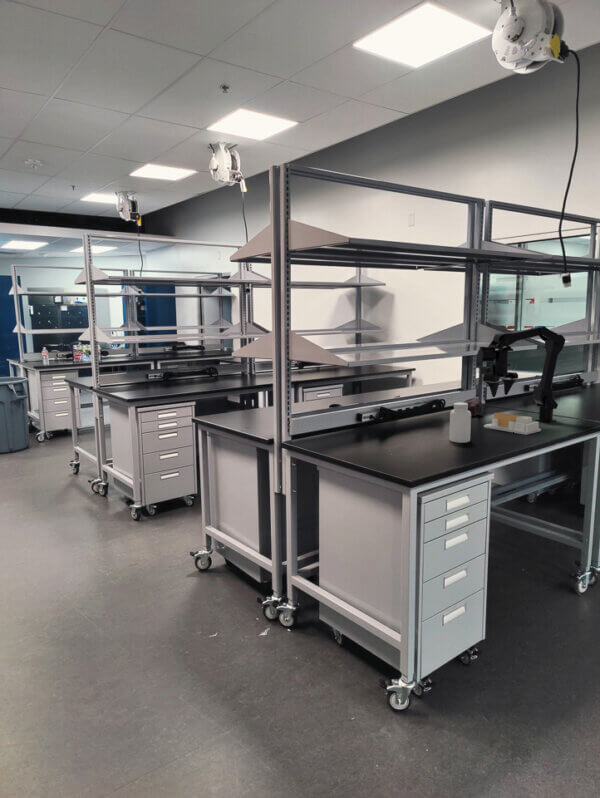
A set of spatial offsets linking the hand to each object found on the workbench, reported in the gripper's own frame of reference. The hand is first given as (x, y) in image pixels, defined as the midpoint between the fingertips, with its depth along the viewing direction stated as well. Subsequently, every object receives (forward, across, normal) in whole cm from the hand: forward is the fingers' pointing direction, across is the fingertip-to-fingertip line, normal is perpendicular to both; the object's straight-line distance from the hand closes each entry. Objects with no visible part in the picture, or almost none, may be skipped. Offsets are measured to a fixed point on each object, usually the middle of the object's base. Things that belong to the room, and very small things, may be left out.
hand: (499, 395), depth 242 cm
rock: (+13, -6, -19) cm, 24 cm away
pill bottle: (+13, +41, +10) cm, 44 cm away
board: (+12, +7, +11) cm, 18 cm away
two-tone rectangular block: (+11, +7, +11) cm, 17 cm away
